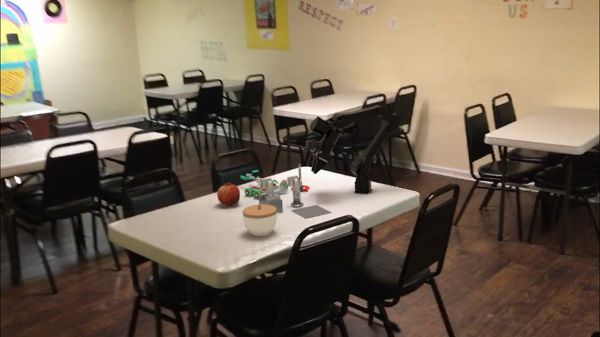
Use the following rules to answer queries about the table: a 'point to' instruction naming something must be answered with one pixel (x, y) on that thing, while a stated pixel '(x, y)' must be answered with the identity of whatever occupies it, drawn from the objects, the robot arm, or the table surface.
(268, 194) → the vise
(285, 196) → the table surface
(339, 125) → the robot arm
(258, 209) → the lidded bowl
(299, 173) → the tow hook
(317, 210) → the mat
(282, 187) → the robot kit
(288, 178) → the flanged metal post
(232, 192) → the fruit
